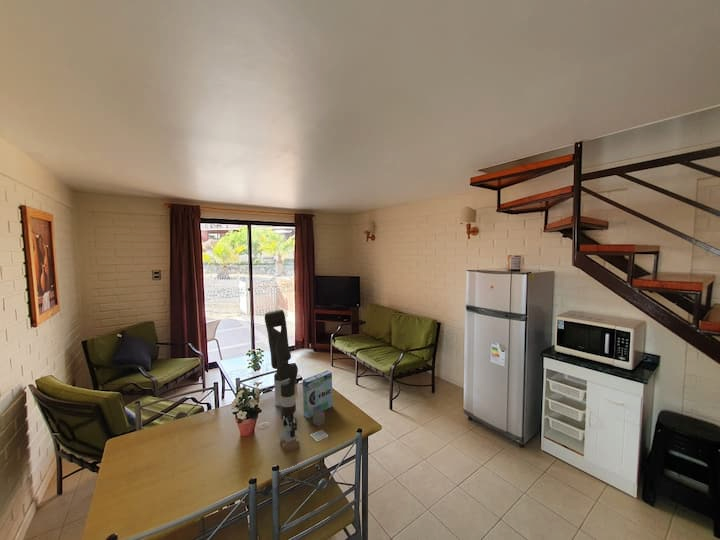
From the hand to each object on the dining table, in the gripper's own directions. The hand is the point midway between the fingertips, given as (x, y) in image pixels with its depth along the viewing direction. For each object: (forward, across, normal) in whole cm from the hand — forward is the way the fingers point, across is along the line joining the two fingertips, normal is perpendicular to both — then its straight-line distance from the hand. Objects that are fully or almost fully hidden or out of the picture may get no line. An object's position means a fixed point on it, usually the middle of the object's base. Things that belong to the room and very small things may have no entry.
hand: (289, 432), depth 148 cm
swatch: (+7, +3, +16) cm, 18 cm away
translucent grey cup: (+7, -8, +22) cm, 24 cm away
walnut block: (+7, 0, 0) cm, 7 cm away
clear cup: (+3, 0, 0) cm, 3 cm away
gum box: (+7, -19, +28) cm, 35 cm away
